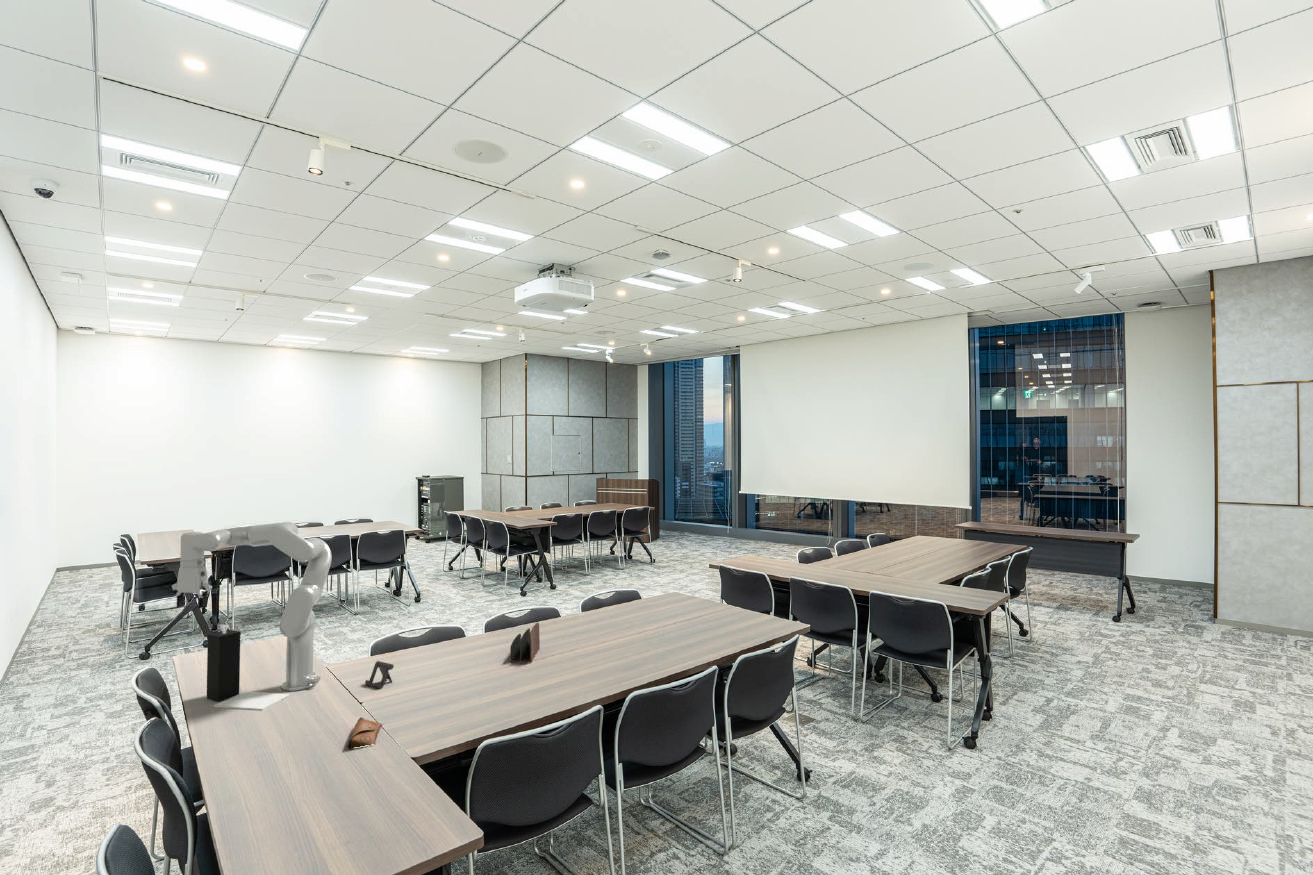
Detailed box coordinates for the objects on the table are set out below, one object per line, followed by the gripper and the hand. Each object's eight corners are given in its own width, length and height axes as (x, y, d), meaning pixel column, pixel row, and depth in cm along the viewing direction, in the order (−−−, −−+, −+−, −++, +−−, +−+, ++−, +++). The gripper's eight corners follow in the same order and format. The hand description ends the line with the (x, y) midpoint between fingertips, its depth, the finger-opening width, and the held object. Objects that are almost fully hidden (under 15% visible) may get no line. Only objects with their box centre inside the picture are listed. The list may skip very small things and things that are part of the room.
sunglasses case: (376, 745, 199) (365, 729, 198) (355, 760, 197) (344, 743, 196) (383, 722, 216) (372, 707, 215) (364, 735, 214) (353, 720, 213)
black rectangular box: (239, 694, 241) (241, 623, 242) (218, 702, 234) (219, 628, 235) (227, 691, 244) (228, 620, 245) (205, 698, 237) (207, 625, 238)
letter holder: (539, 649, 298) (540, 620, 299) (531, 663, 279) (531, 631, 279) (519, 649, 298) (519, 620, 299) (509, 663, 279) (509, 631, 279)
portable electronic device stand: (364, 685, 251) (365, 665, 251) (381, 679, 258) (381, 659, 258) (379, 689, 247) (379, 668, 247) (395, 683, 254) (396, 662, 254)
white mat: (290, 695, 241) (290, 694, 241) (262, 710, 227) (262, 708, 227) (244, 692, 243) (244, 691, 243) (214, 706, 230) (214, 705, 230)
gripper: (219, 562, 246) (218, 605, 245) (182, 561, 248) (181, 603, 248) (202, 565, 238) (202, 610, 238) (164, 564, 241) (163, 608, 241)
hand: (191, 606), depth 243 cm, fingers open, 9 cm apart
